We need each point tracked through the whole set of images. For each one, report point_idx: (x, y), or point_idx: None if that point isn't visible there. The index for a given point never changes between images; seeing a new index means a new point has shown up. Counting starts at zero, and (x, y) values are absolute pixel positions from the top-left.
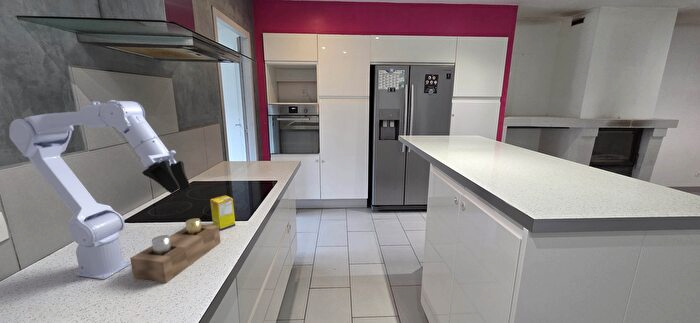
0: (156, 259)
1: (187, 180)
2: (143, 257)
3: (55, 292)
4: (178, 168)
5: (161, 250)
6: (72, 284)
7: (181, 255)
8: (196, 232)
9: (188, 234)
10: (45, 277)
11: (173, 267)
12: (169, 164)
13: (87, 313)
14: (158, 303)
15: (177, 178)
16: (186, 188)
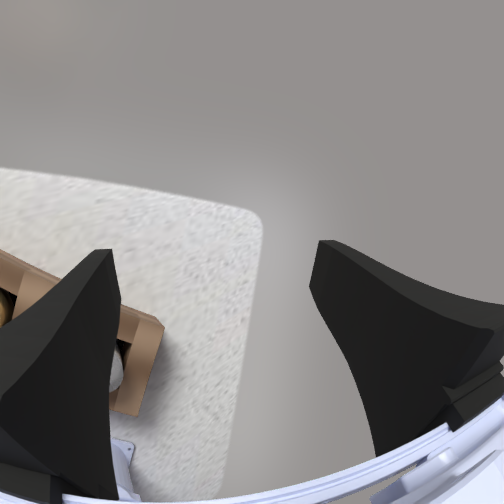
0: (150, 350)
1: (87, 269)
2: (136, 388)
3: (168, 484)
4: (54, 391)
5: (119, 354)
6: (146, 478)
7: None
8: (2, 298)
9: (6, 322)
10: None
11: (134, 312)
12: (457, 316)
13: (227, 402)
14: (219, 299)
15: (94, 361)
16: (114, 274)
